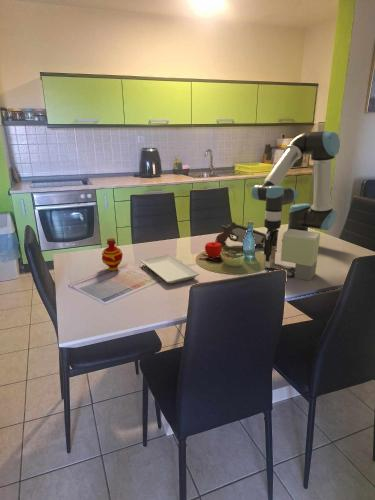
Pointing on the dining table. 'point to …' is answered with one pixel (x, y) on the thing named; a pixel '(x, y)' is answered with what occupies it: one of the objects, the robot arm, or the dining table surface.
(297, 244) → the pale green stepped block
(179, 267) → the tray
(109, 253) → the red yellow vase
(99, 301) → the dining table surface
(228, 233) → the gun
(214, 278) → the dining table surface
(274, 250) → the blade tool
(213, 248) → the apple
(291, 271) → the token
